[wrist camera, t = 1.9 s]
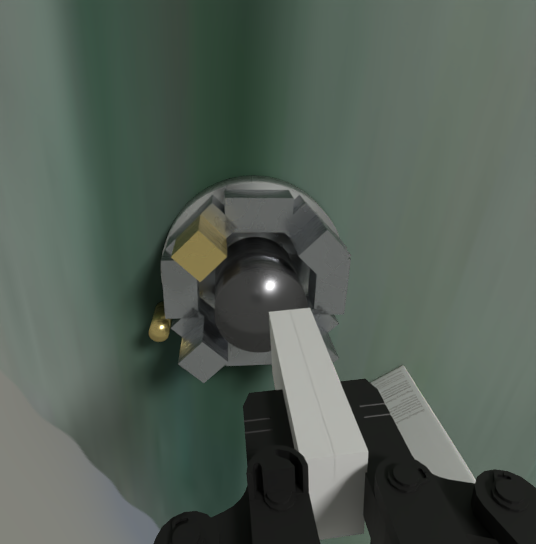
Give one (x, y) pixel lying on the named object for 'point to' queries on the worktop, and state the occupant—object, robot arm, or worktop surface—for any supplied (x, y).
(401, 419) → the skincare box
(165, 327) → the post
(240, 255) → the housing
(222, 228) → the ring nut
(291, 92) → the worktop surface
